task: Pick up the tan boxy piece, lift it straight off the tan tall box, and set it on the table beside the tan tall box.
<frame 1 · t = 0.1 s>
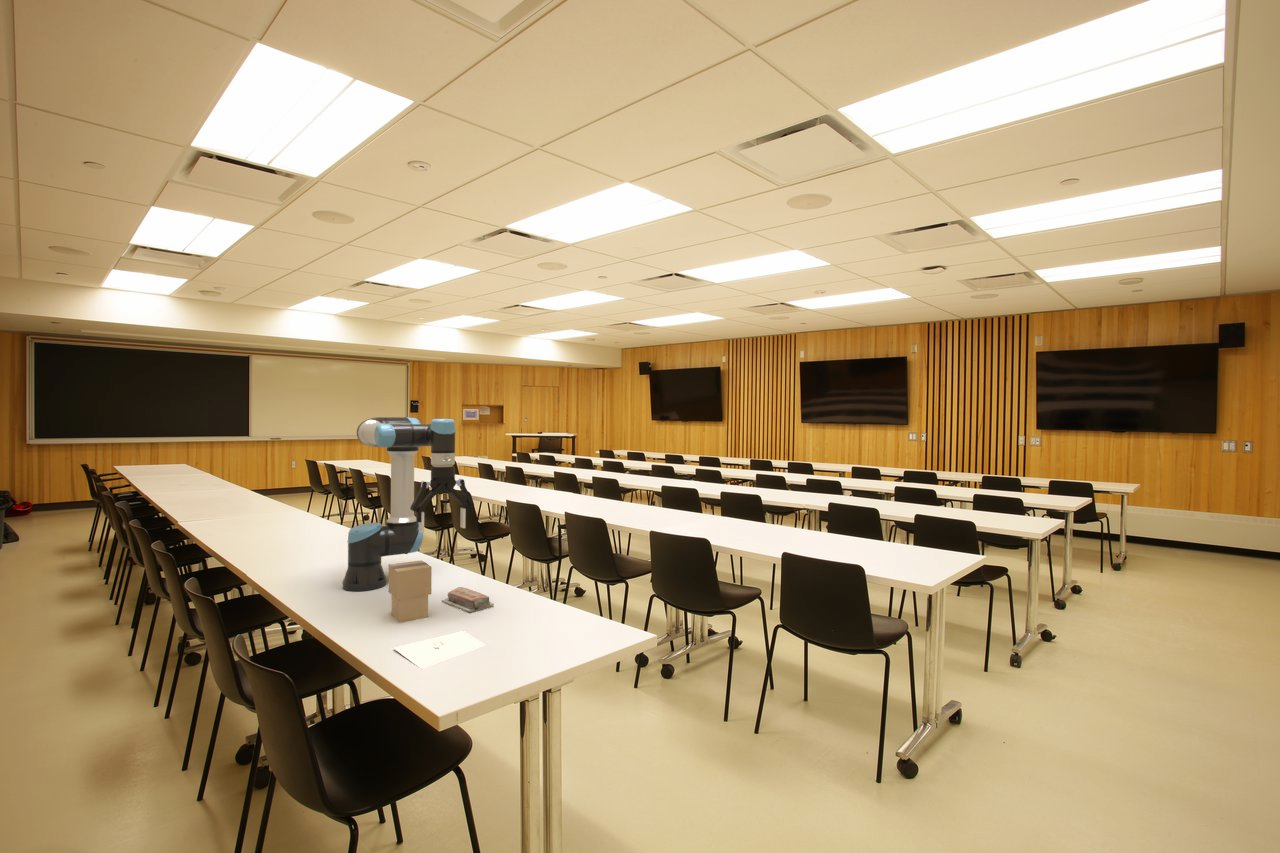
hand: (442, 529, 197), 28 cm above the table, tool pointing down, fingers open, 13 cm apart
tan boxy piece: (409, 593, 195), point 7 cm above the table, touching tan tall box
tan tall box: (409, 615, 195), on the table
paper sheet: (451, 656, 164), on the table
packaged product: (467, 606, 208), on the table
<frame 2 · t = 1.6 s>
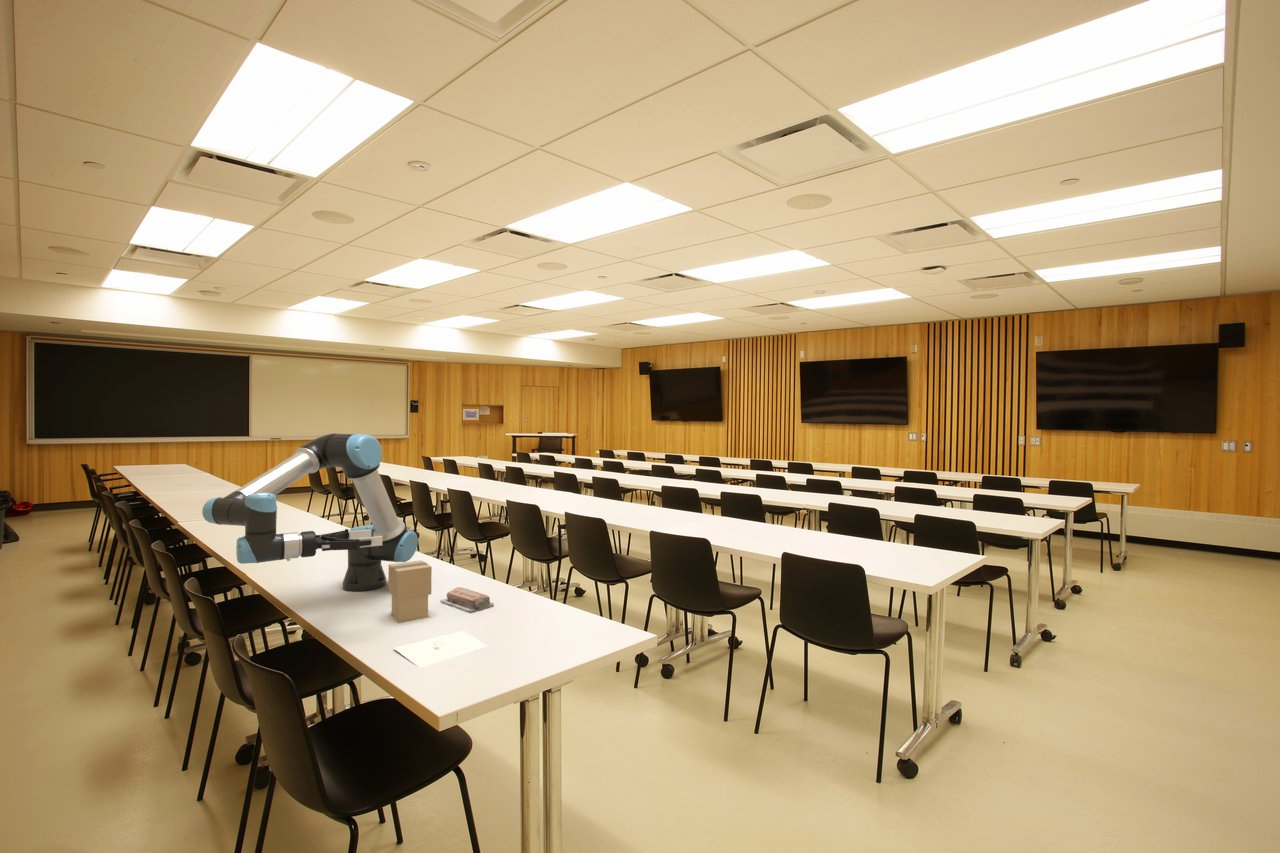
hand: (376, 537, 189), 27 cm above the table, tool horizontal, fingers open, 13 cm apart
nothing on the table moved.
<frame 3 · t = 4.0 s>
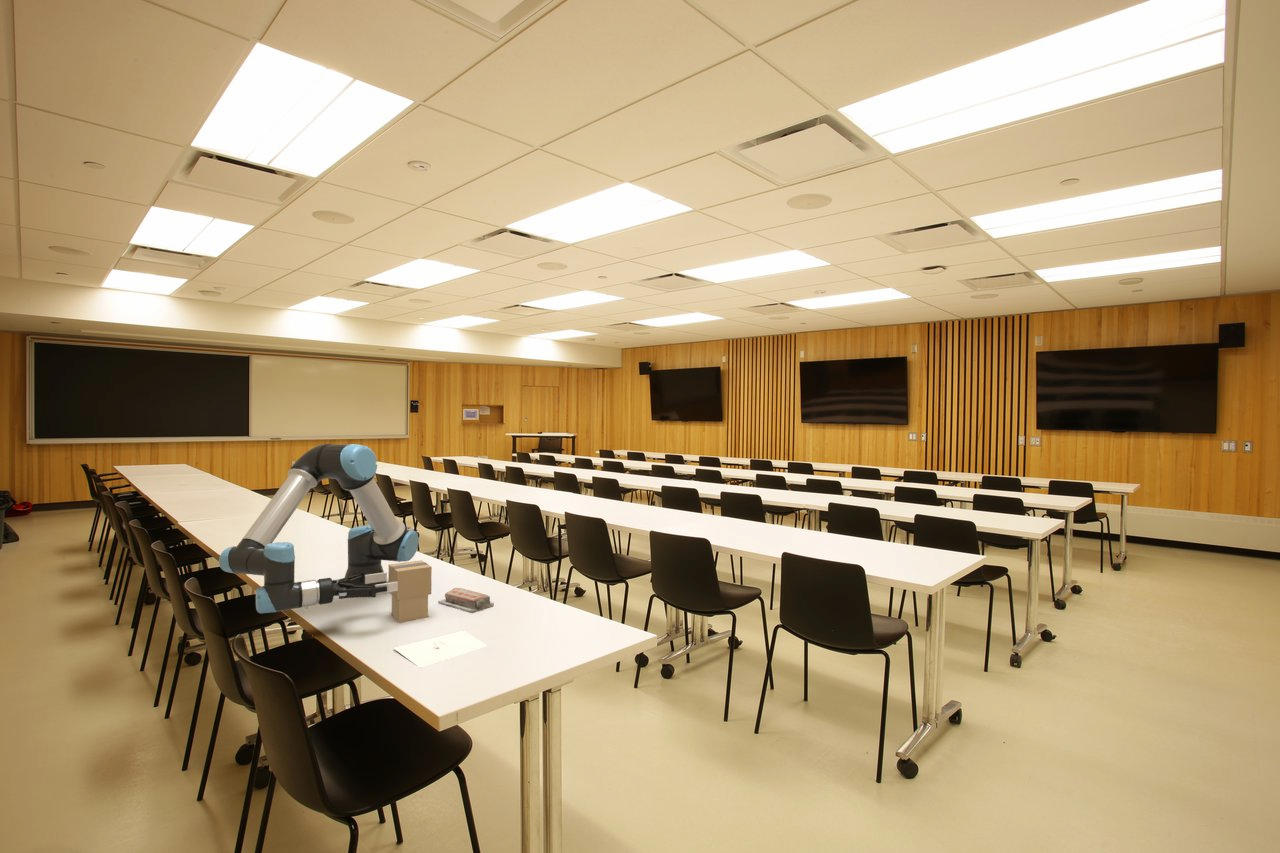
hand: (391, 581, 191), 12 cm above the table, tool horizontal, fingers open, 13 cm apart
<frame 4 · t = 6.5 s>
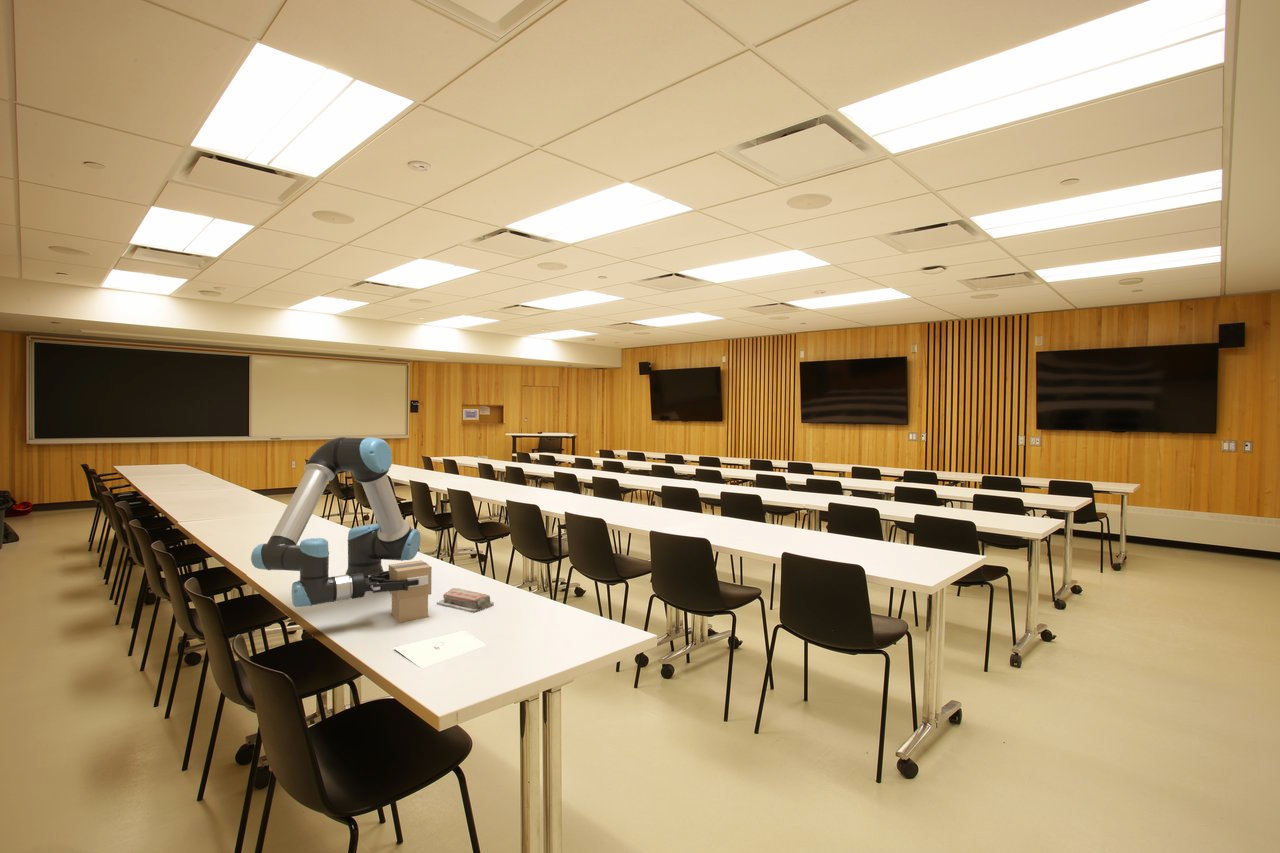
hand: (422, 575, 198), 12 cm above the table, tool horizontal, fingers closed on tan boxy piece, 11 cm apart
tan boxy piece: (409, 593, 195), point 8 cm above the table, touching gripper, tan tall box
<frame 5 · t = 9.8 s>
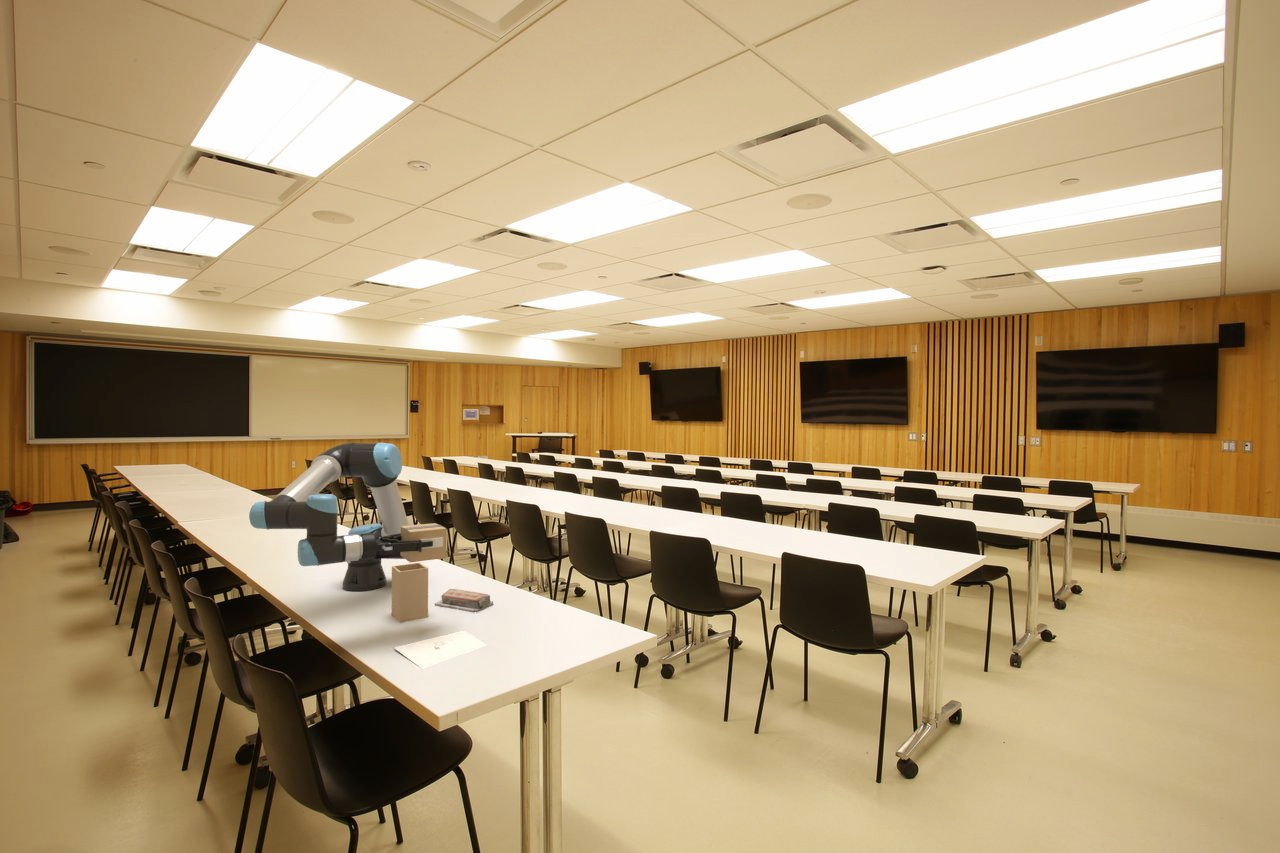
hand: (436, 538, 185), 27 cm above the table, tool horizontal, fingers closed on tan boxy piece, 11 cm apart
tan boxy piece: (423, 556, 183), point 22 cm above the table, touching gripper
when the fingers open (6 cm above the table, at t = 13.4 s): tan boxy piece drops 1 cm, on the table.
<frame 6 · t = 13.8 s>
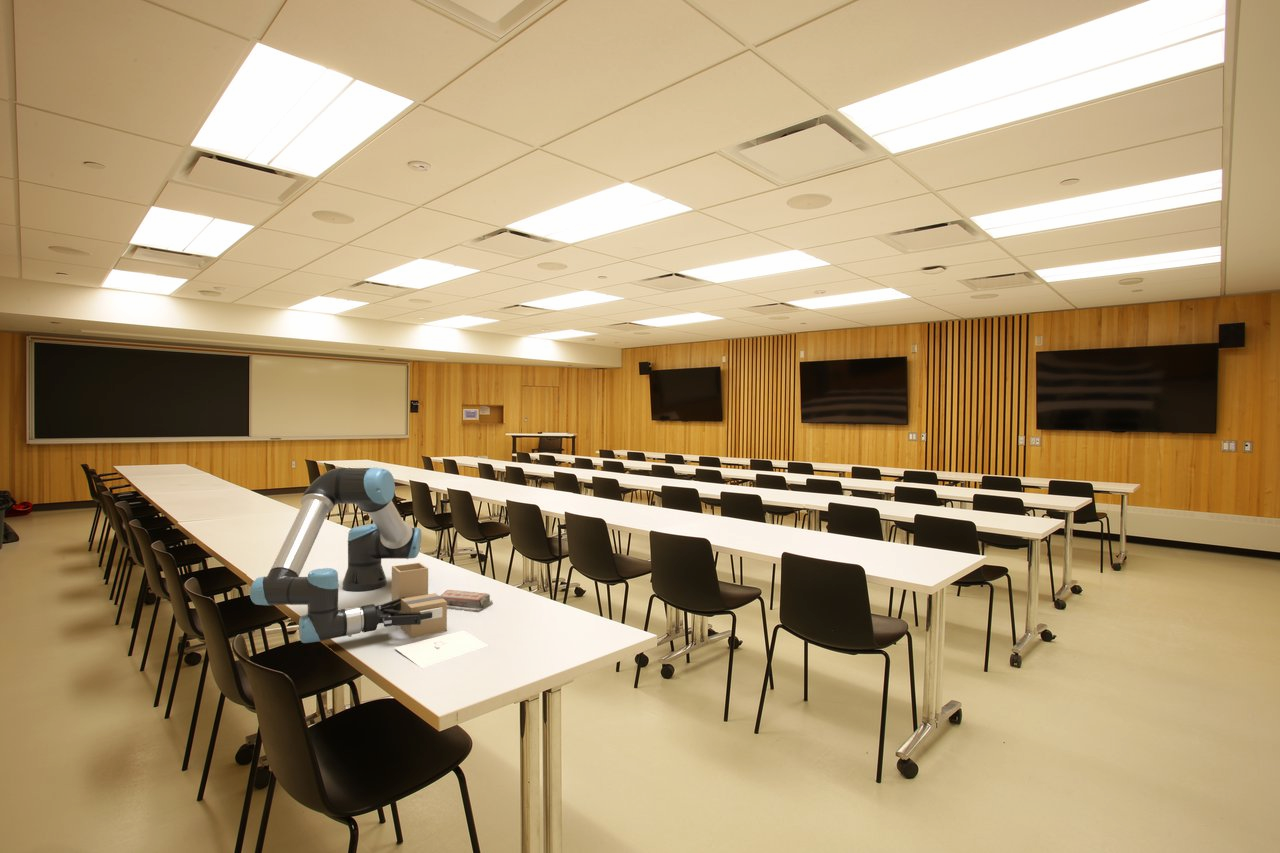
hand: (434, 606, 185), 6 cm above the table, tool horizontal, fingers open, 13 cm apart
tan boxy piece: (423, 629, 183), on the table
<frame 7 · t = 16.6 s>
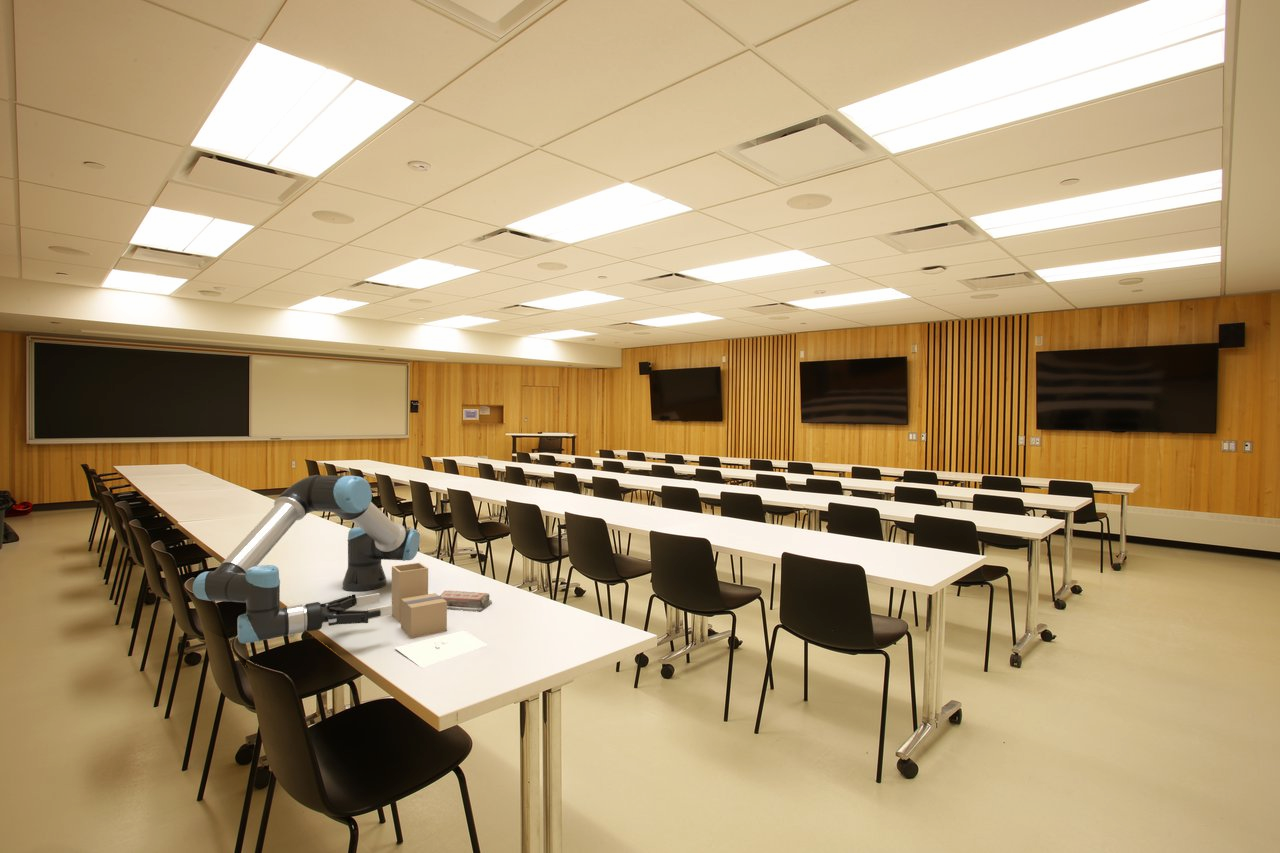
hand: (385, 603, 178), 9 cm above the table, tool horizontal, fingers open, 13 cm apart
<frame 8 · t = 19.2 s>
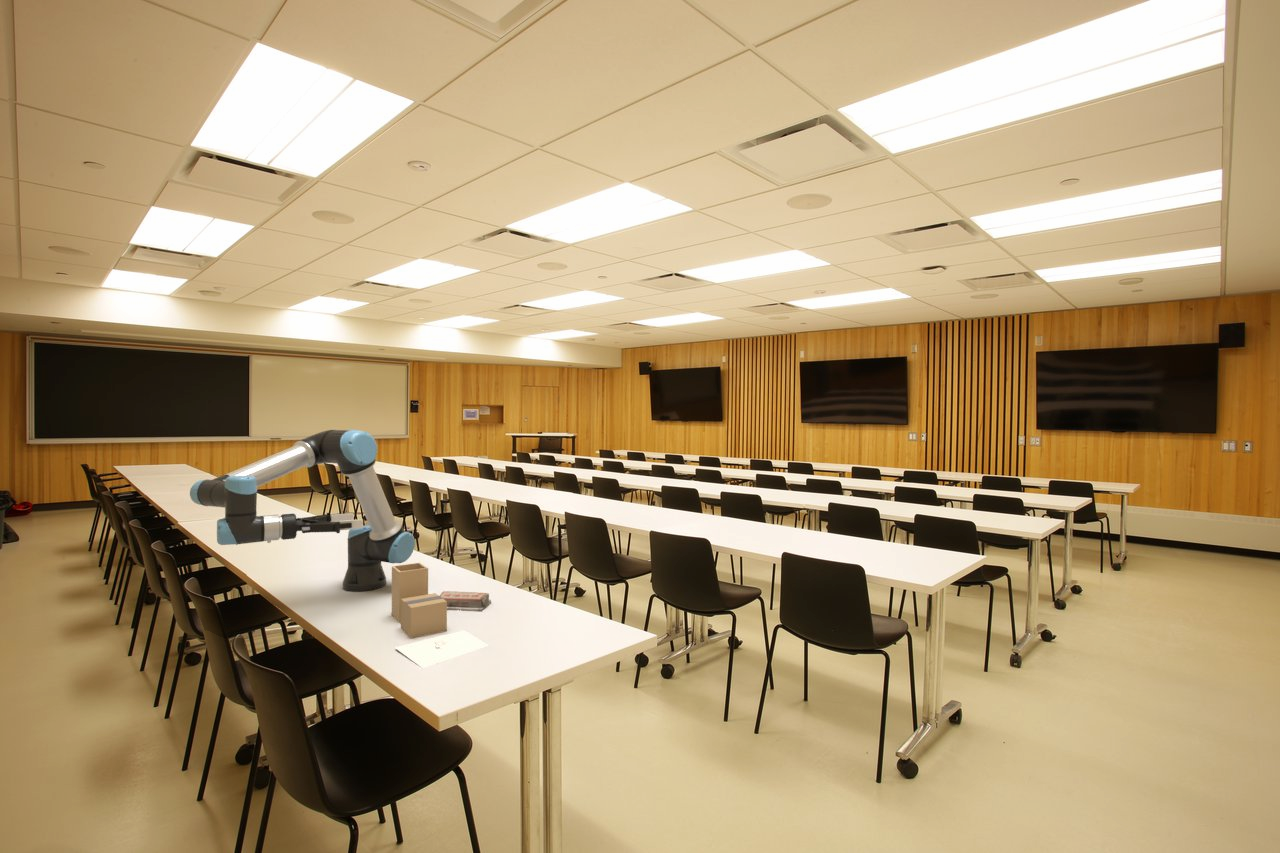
hand: (358, 520, 190), 32 cm above the table, tool horizontal, fingers open, 13 cm apart
at the end: tan boxy piece inside the target area (0.1 cm from its centre), on the table; tan boxy piece tilted 0°; the gripper is holding nothing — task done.
